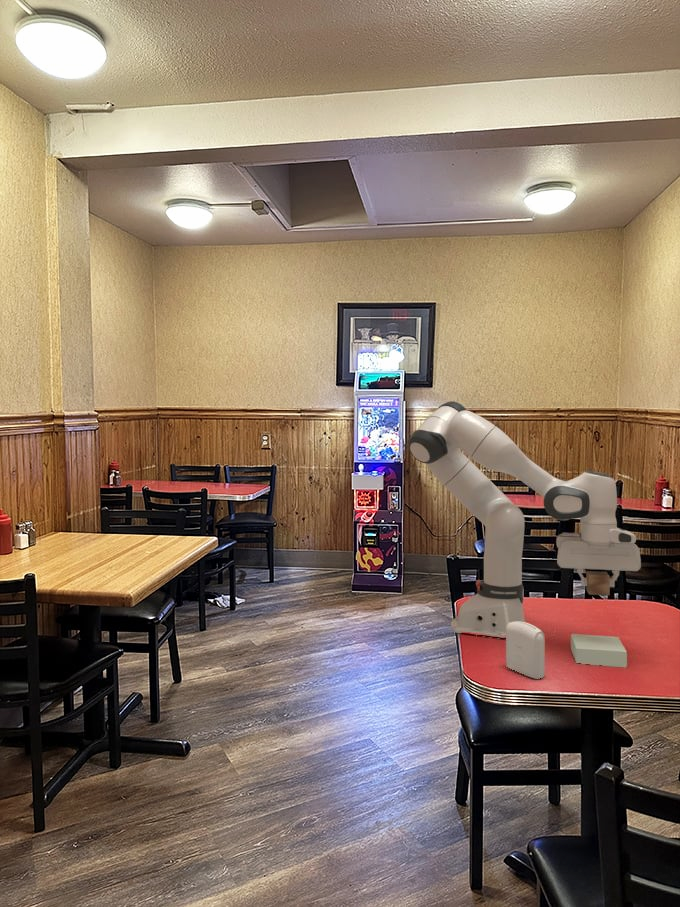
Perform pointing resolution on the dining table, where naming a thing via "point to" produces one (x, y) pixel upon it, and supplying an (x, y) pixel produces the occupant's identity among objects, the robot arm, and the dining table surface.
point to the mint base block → (598, 650)
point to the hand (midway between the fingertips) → (597, 586)
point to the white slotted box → (525, 649)
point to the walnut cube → (598, 583)
